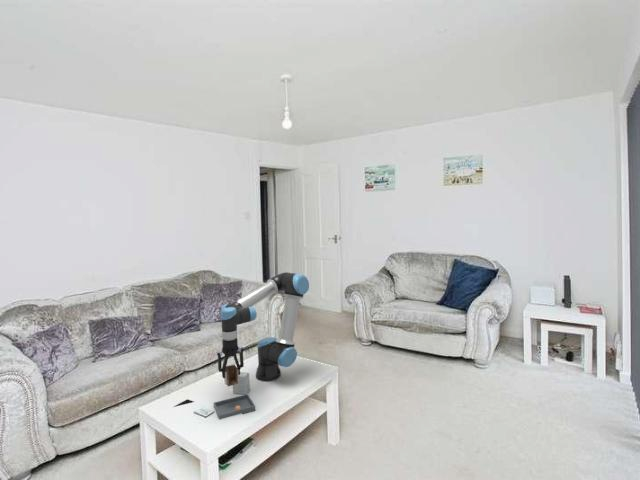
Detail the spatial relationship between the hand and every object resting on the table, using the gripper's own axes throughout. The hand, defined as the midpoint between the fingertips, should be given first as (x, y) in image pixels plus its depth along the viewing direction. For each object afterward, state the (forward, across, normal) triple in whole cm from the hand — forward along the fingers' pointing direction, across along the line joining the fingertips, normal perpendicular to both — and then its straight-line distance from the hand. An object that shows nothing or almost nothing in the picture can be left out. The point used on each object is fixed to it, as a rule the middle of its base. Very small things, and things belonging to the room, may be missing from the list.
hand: (231, 382), depth 188 cm
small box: (+13, -8, -13) cm, 20 cm away
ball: (+12, 0, +7) cm, 14 cm away
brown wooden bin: (0, 0, 0) cm, 0 cm away
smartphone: (+14, +25, -12) cm, 31 cm away
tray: (+13, 0, +3) cm, 13 cm away
